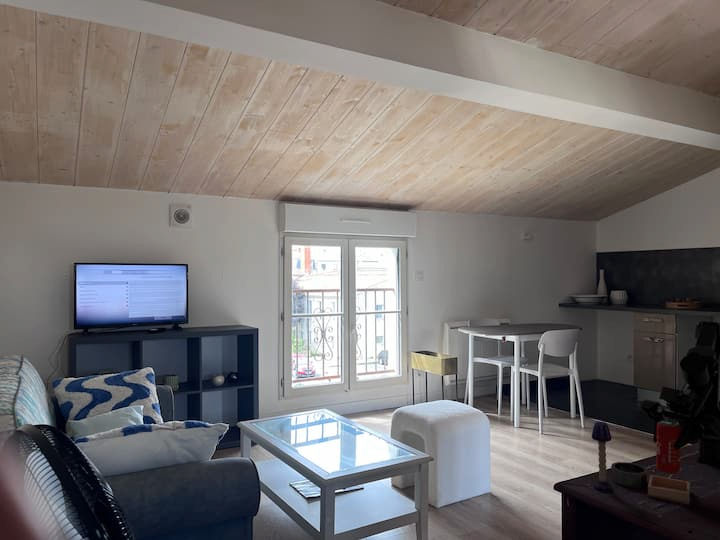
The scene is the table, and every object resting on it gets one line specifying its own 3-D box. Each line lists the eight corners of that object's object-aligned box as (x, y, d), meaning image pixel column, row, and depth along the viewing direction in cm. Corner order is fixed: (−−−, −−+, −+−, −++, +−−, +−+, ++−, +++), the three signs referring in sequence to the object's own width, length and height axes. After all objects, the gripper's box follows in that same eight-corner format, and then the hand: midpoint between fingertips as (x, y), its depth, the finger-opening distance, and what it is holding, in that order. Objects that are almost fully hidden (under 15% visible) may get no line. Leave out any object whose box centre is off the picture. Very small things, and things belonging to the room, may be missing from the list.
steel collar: (613, 472, 149) (613, 460, 149) (648, 479, 145) (648, 465, 145) (609, 483, 142) (609, 469, 142) (646, 490, 138) (646, 476, 138)
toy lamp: (604, 494, 135) (604, 426, 135) (587, 487, 139) (587, 422, 139) (615, 489, 138) (616, 423, 138) (598, 483, 142) (599, 419, 142)
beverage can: (674, 476, 132) (675, 427, 132) (652, 469, 136) (653, 421, 136) (684, 472, 135) (685, 423, 135) (662, 465, 139) (663, 418, 139)
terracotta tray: (650, 484, 141) (650, 474, 141) (689, 491, 137) (689, 481, 137) (647, 496, 134) (647, 486, 134) (689, 504, 129) (689, 494, 129)
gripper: (644, 368, 145) (616, 415, 140) (717, 382, 129) (687, 436, 124) (663, 395, 149) (636, 441, 144) (736, 411, 132) (708, 464, 127)
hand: (664, 445), depth 135 cm, fingers closed on beverage can, 5 cm apart
